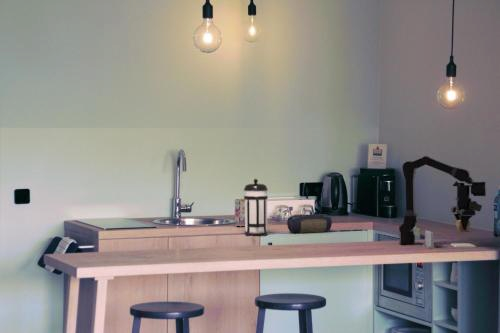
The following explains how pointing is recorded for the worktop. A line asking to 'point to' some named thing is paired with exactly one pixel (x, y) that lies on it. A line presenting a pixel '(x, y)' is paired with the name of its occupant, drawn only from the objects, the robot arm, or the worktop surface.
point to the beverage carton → (415, 231)
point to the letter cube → (460, 228)
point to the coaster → (463, 245)
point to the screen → (429, 239)
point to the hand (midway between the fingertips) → (463, 229)
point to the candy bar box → (239, 210)
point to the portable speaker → (309, 223)
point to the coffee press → (255, 208)
